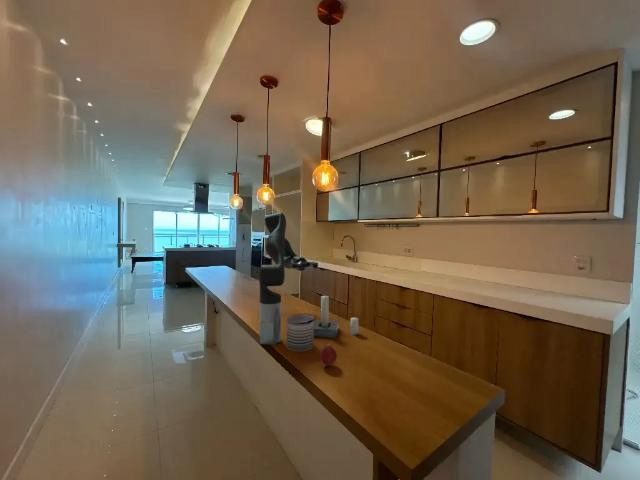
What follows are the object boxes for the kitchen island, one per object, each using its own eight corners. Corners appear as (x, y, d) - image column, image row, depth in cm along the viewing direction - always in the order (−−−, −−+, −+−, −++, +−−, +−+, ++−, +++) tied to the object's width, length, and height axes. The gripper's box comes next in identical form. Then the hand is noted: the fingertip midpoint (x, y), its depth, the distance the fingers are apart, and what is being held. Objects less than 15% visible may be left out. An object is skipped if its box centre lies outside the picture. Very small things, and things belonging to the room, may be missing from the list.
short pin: (358, 335, 128) (358, 320, 128) (350, 334, 129) (350, 319, 129) (358, 332, 132) (358, 317, 132) (350, 331, 132) (350, 317, 132)
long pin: (327, 333, 130) (328, 297, 129) (320, 333, 130) (320, 297, 130) (328, 331, 133) (329, 296, 133) (321, 330, 134) (321, 295, 133)
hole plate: (335, 337, 125) (335, 330, 125) (309, 336, 127) (309, 328, 127) (338, 328, 137) (338, 321, 136) (314, 326, 139) (314, 320, 138)
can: (301, 354, 108) (301, 324, 108) (280, 346, 115) (280, 318, 115) (319, 344, 117) (319, 316, 117) (298, 338, 124) (299, 311, 124)
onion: (322, 370, 96) (323, 348, 95) (318, 363, 101) (318, 341, 101) (338, 368, 97) (339, 346, 97) (333, 361, 103) (333, 340, 102)
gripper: (287, 257, 156) (296, 259, 141) (310, 256, 162) (321, 259, 147) (286, 270, 156) (296, 274, 141) (310, 269, 162) (321, 273, 147)
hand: (309, 266), depth 144 cm, fingers open, 8 cm apart
